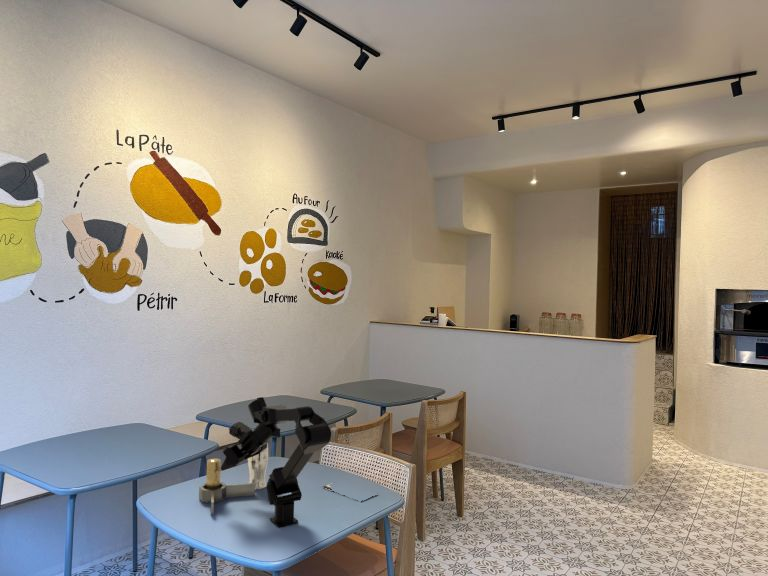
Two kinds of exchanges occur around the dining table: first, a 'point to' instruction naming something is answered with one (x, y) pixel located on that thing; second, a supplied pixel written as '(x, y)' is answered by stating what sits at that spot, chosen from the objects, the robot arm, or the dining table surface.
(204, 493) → the grey ring with arms
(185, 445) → the dining table surface
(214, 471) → the hinge pin
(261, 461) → the beer glass
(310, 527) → the dining table surface
